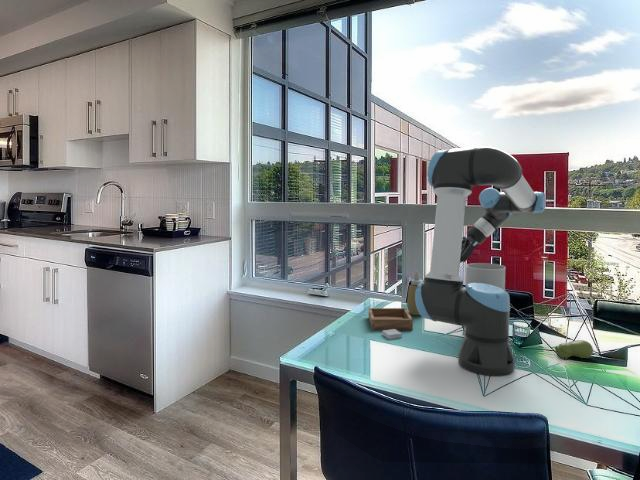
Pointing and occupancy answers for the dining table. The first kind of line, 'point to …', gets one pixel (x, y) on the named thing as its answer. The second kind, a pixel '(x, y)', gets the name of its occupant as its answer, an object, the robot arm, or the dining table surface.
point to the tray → (390, 319)
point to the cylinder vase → (486, 274)
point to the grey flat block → (391, 334)
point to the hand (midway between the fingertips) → (442, 268)
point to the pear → (575, 349)
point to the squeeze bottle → (413, 294)
